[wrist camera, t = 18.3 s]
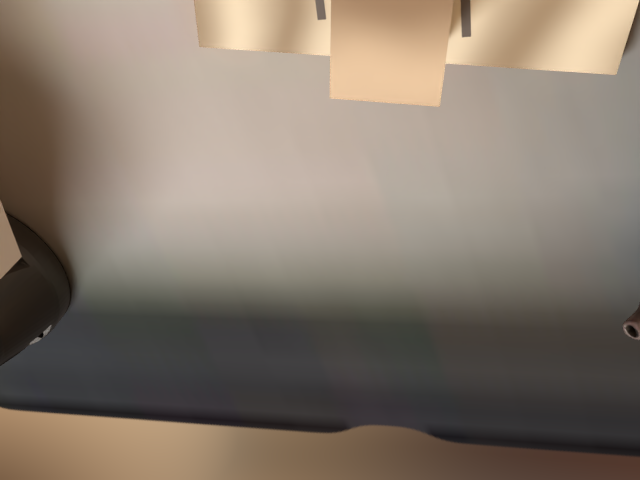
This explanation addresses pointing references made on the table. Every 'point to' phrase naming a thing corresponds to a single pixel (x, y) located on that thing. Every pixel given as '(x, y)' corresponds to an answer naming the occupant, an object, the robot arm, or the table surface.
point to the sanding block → (389, 50)
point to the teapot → (633, 325)
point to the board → (464, 37)
